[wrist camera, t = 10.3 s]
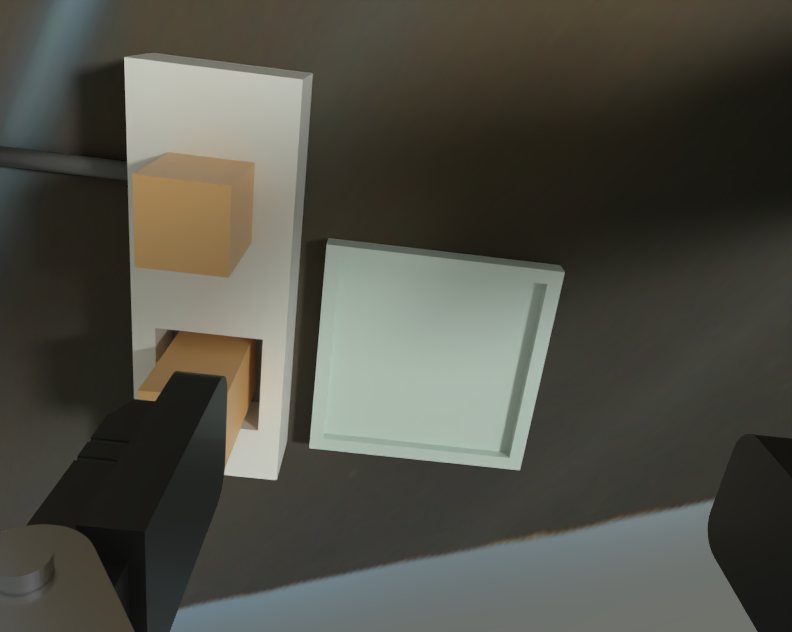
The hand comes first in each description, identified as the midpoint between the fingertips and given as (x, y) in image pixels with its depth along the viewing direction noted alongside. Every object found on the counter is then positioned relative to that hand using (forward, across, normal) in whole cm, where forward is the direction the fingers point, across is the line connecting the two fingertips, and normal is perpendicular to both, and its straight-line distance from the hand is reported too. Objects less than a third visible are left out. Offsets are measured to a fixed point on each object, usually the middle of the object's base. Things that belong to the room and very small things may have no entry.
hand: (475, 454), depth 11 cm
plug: (+27, +10, +13) cm, 32 cm away
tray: (+28, -2, +12) cm, 31 cm away
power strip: (+28, +14, +8) cm, 33 cm away
